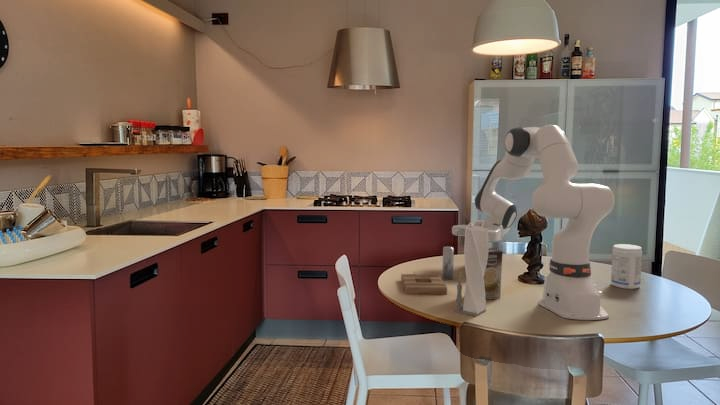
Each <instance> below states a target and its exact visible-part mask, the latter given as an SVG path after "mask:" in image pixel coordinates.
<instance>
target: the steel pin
mask: <svg viewBox="0 0 720 405" xmlns="http://www.w3.org/2000/svg"><path fill="white" fill-rule="evenodd" d="M454 252H455V247H454V246H443V248H442V277H441V279H442V280H445V281H448V280H449V281H451V280H454V261H455V260H454V258H455V255H454V254H455V253H454Z"/></svg>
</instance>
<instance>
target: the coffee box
mask: <svg viewBox="0 0 720 405" xmlns="http://www.w3.org/2000/svg"><path fill="white" fill-rule="evenodd" d="M502 263H503V251H501V250H499V249H496V248H492V247H490V248H489V250H488V260H487V265H486V270H485V273H484V277H483V278H484V287H485V299H486V300H494V299H495V300H496V299H501V292H502V291H501V288H502V268H503V264H502Z"/></svg>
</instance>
